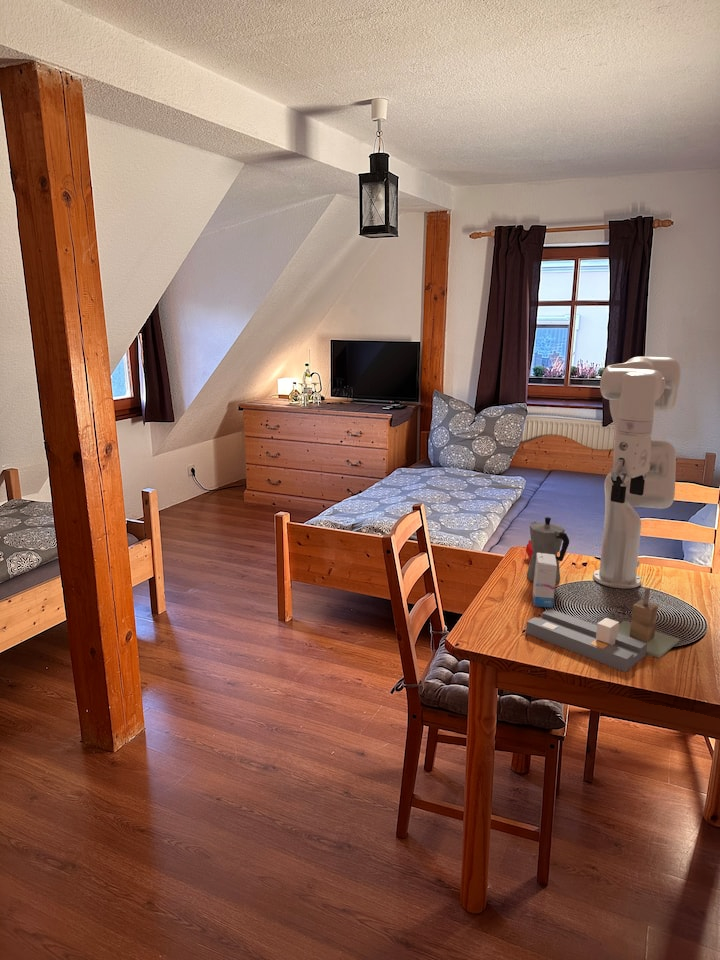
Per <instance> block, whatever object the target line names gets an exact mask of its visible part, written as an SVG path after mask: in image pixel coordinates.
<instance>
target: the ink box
mask: <svg viewBox="0 0 720 960" xmlns="http://www.w3.org/2000/svg"><path fill="white" fill-rule="evenodd" d="M556 572H557V563H556V558H555V555H554V554H546V553H537V554H536V564H535V574H534V582H533V584H532V585H533V587H532V600H533V606H534V607H538V608H539V607H541V608H549V609H551V608H552V609H553V608H554V599H555V589H556V583H555V582H556Z"/></svg>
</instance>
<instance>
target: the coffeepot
mask: <svg viewBox="0 0 720 960" xmlns="http://www.w3.org/2000/svg"><path fill="white" fill-rule="evenodd" d="M551 520H552V518H551V517H548V516H545V517H544V522H541V521H537V522H536V521H533V522H530V524H531V525H529V532H530V541H531V547H532V549H533V555H532V556H531V560H530V559H529V565H528V567H527V571H526V577H527V579H528V580H529V581H531V582H533V583H534V574H535V564H536V554H537V553H546V554H554V555H555V558H556V563H557V572H556V582H555V584H557V583H559V582H560V581H561V574H560V563H559V562H562V561H564V557H565V555H566V553H567V549H568V547H569V544H570V538H569V537H568V535H567V532H566V533H565V528H564V527H563V526H562V525H559V524H555V523H552V522H551ZM558 554H559V556H558Z"/></svg>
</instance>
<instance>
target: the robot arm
mask: <svg viewBox="0 0 720 960" xmlns="http://www.w3.org/2000/svg"><path fill="white" fill-rule="evenodd" d="M680 381H681V366H680V364H679V361H678V360H677V359H675V358H674V357H669V356H634V357H632V358H629V359H628V360H627V361H626V362H622V363H615V364H609V365H607V366H606V367H605V368H604V370H603V371H602V375H601V377H600V383H599V389H600V395H601V396H602V397H603V399H606V400H609V401H608V402H609V411H610V415H611V418H612V423H613V425H614V429H615V436H614V445H613V453H612V455H613V456H612V459H613V461H612V462H613V463H612V464H613V465H612V467H611V469H610V472H609V473H608V474H607V475H606V476H605V479H604V504H605V505H604V523H603V531H602V542H601V552H600V560H599V561H600V562H599V569H596V570H594V572H593V573H592V577H593V579H594V581H596V582H597V583H599V584H601V585H603V586H606V587H610V588H615V589H629V590H630V589H635V588H637V587H639V586H641V584H642V578H641V577H640V576H639V575H638V574H637V568H638V567H640V565H641V563H640V561H639V559H638V558H639V550H640V541H641V533H642V519H641V518H640V515H639V514H638V512H637V510H635V508H634V507H636V508H637V507H641V508H649V509H659V510H662V509H668V508H669V507H671V506H672V504H673V502H674V499H675V496H676V495H675V492H676V472H677V471H676V470H677V468H676V466H677V455H676V449H675V447H674V445H673V444H672V443H671V442H668V441H664V440H654V439H652V435H653V434H652V433H653V424H654V423H653V422H654V415H655V413H668V412H670V411H672V409H674V407H675V405H676V402H677V397H678V391H679V386H680V383H681V382H680Z"/></svg>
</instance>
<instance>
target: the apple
mask: <svg viewBox="0 0 720 960" xmlns="http://www.w3.org/2000/svg"><path fill="white" fill-rule="evenodd" d="M525 552H526V554H527V556H528V558H529V561H530V560H531V556H532V555H533V549H532V547H531V539H529V540H528V542H527V544H526V548H525Z"/></svg>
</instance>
